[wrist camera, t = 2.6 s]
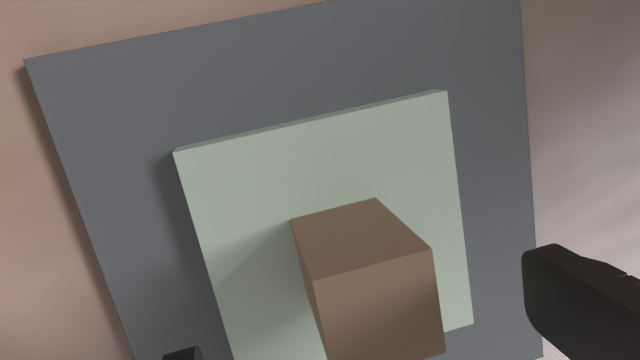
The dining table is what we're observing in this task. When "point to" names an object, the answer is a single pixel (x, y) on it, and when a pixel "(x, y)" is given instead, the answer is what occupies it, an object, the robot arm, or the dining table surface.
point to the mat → (281, 107)
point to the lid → (334, 233)
